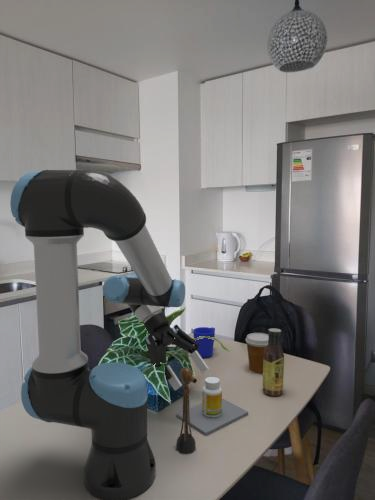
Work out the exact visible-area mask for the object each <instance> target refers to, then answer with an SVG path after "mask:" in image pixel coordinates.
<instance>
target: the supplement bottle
mask: <svg viewBox="0 0 375 500" xmlns="http://www.w3.org/2000/svg"><path fill="white" fill-rule="evenodd" d="M201 393H202V399H201V403H202V413H203V414H204V415H205V416H207V417H212V418H214V417H218V416H220V415H221V413H222V398H223V389H222V387H221V380H220V378H218V377H216V376H209V377H206V378H205V379H204V386H203V387H202V392H201Z"/></svg>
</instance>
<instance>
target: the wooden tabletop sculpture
mask: <svg viewBox="0 0 375 500" xmlns="http://www.w3.org/2000/svg"><path fill="white" fill-rule="evenodd" d="M193 375H194V374H193V371H192V369H190V368H189V367H187V366H183V367H181V369H180V371H179V378H180V380H181V381H180V382H181V383H182V384H184V386H182V396H183V397H182V411H183V418H182V420H181V428H180V433H179V435H178V437H177V439H176V443H175V445H176V446H175V450H176V451H177V452H178V453H179V454H183V455H187V454H192V453H194V452H195V451H196V439H195V437H194V436H193V434H192V428H191V426H190V415H189V408H190V386H189V384H191V383H193V384H196V383H197V382H198V380H197V378H195V377H194V376H193ZM188 422H189V425H188ZM183 430H184V432H183Z"/></svg>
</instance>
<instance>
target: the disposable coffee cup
mask: <svg viewBox="0 0 375 500" xmlns="http://www.w3.org/2000/svg"><path fill="white" fill-rule="evenodd" d="M268 339H269V334H268V333H264V332H252V333H249V334H247V335H246V338H245V342H246V348H247V349H246V350H247V357H248V365H249V370H250V372H253V373H256V374H263V361H264V350H265V348H266V346H267V345H268Z"/></svg>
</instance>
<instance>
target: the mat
mask: <svg viewBox="0 0 375 500" xmlns="http://www.w3.org/2000/svg"><path fill="white" fill-rule="evenodd" d="M189 415H190V427H192V428H193V429H195V430H196V431H198V432H200V434H202V435H204V436H206V437H207V436H209V435H210V434H212V433H215V432H217V431H219V430H221V429H223V428H225V427H227V426H228V425H230V424H232V423H234V422H236V421H238V420H240V419H242V418H245V417H246V416H248V415H249V411H248V410H245V408H244V409H243V408H241V407H240V406H238V405H237V404H234V403H233V402H230V401H229V400H226V399H225V398H223V397H222V413H221V415H220V416H218V417H214V418H212V417H207V416H205V415H204V414H203V413H202V402H201V403H199V404H196V405H193V406H192V407H189ZM175 417H176V418H177V419H179V420H181V421H182V418H183V410H182V411H180V412H178V413H176V415H175ZM188 426H189V422H188Z"/></svg>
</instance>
